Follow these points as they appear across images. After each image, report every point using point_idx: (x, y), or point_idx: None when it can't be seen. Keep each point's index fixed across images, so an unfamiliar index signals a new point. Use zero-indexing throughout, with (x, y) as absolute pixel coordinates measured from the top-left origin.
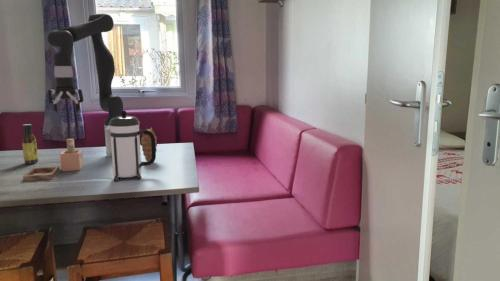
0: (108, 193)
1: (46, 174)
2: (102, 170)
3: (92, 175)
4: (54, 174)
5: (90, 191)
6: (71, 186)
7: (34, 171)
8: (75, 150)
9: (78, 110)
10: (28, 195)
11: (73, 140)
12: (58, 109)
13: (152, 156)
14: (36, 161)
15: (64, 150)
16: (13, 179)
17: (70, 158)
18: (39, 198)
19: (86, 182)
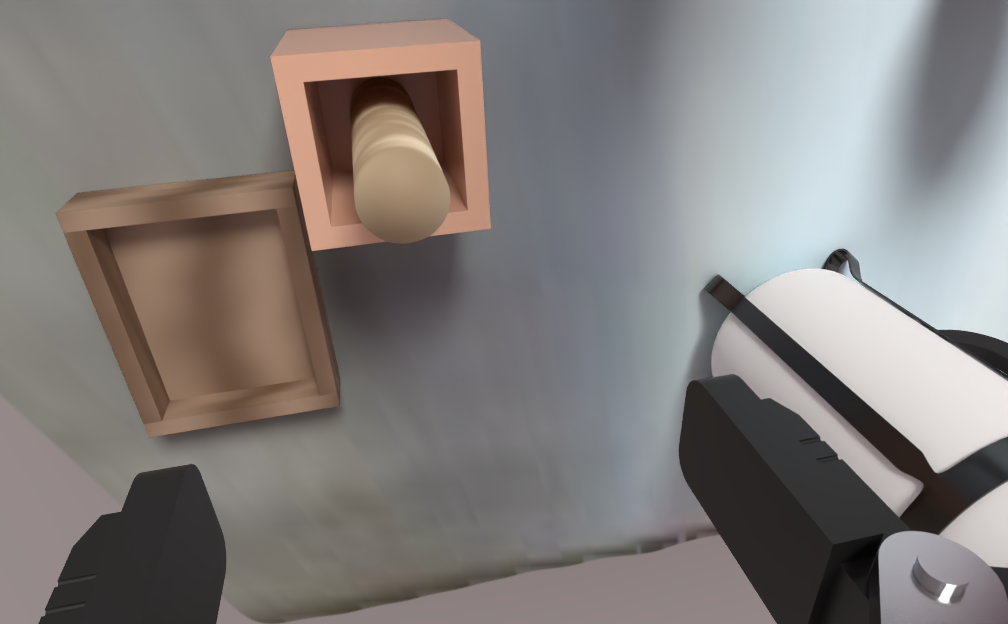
0: (671, 533)
1: (302, 402)
2: (619, 144)
3: (565, 269)
4: (326, 333)
5: (596, 516)
6: (490, 458)
7: (102, 242)
8: (413, 72)
9: (738, 385)
10: (324, 567)
11: (446, 202)
12: (178, 517)
13: (1000, 367)
14: None
15: (276, 57)
16: (3, 323)
17: None
18: (397, 592)
19: (554, 401)
